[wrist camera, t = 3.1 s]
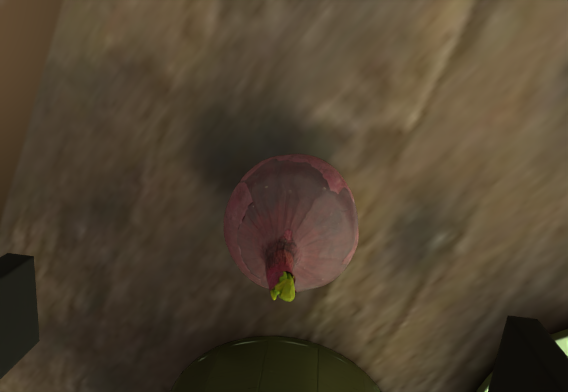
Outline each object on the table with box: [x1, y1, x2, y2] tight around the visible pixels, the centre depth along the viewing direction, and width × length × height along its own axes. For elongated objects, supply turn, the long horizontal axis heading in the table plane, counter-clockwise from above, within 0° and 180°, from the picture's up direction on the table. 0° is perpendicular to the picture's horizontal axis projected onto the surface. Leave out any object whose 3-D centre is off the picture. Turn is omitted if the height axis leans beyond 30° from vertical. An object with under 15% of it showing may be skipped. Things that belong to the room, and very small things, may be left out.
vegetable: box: [224, 154, 359, 301], centre depth 20 cm, size 6×6×10 cm
